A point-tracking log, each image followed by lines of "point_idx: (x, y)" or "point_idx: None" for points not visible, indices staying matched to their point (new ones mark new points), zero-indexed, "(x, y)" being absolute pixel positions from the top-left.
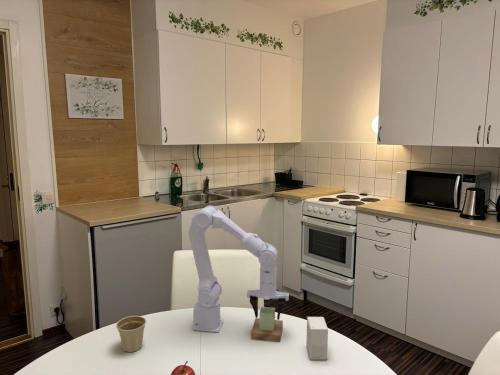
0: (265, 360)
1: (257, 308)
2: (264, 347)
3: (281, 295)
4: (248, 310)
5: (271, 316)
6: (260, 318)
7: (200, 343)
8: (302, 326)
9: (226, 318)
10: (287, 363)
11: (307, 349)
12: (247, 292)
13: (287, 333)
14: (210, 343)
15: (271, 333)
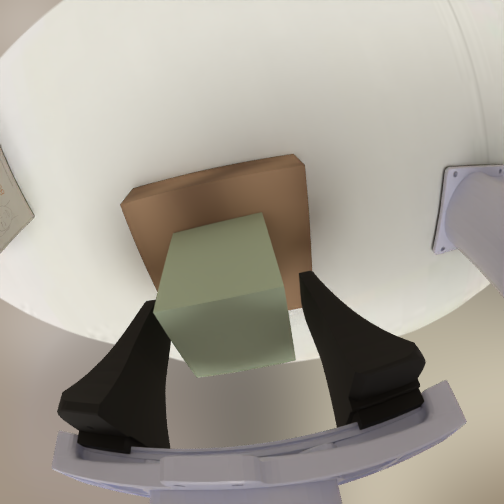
0: (151, 9)
1: (317, 337)
2: (192, 106)
3: (90, 480)
4: None
5: (175, 294)
6: (267, 259)
7: (477, 82)
8: (114, 327)
9: (420, 274)
10: (51, 51)
11: (16, 188)
12: (462, 425)
13: (136, 270)
14: (452, 83)
15: (175, 203)
